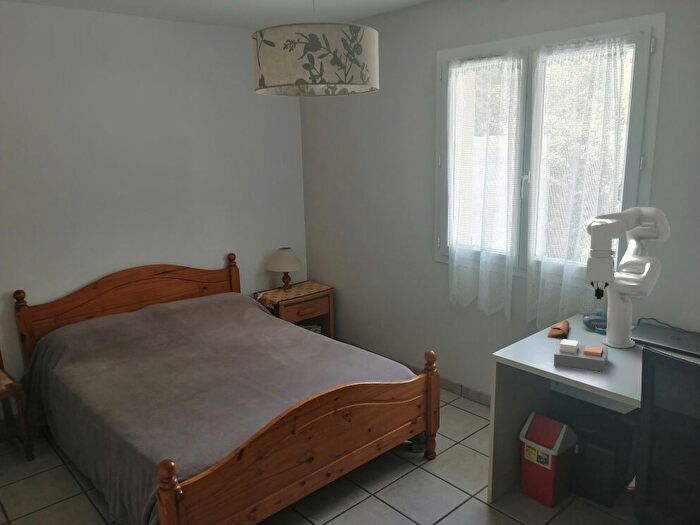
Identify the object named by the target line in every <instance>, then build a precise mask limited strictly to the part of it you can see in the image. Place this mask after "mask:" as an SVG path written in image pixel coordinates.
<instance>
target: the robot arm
mask: <svg viewBox="0 0 700 525" xmlns="http://www.w3.org/2000/svg"><path fill="white" fill-rule="evenodd" d="M586 231H587V234H588V235H589V237H590V249H589V250H590V251H589V254H590V255H588V257H587V261H586V268H585V280H584V283H585V284H586V285H591V287H593V289H594V297H596V300H602V298H603V297H604V294H605V292H604V291H605V289H606V293H607V295H606V296H607V308H606V309H607V310H606V311H607V312H606V319H607V335H606V336H605V337H602V340H601V342H602V343H603V344H604V345H605V346H608V347H611V348H616V349H617V348H619V349H629V348H632V347H634V346H635V344H636V342H635V340H634V339H632V322H633V321H632V320H633V302H632V300H631V299H630V297H635V298H641V299H642V298H647V297H649V296H650V295H651V293H652V291H653V289H654V287H655V285H656V283H657V281H658V279H659V277H660V276H661V272H662V271H661V270H662V264H661V261H660V260H659V259H658V258H657V257H653V256H649V249H648V248H647V246H646V245H645V244H644V242H642V241H649V242H650V241H651V242H665V241H667V240H669V238H670V236H671V227H670V223H669V222H668V220H667V218H666V215H665V213H664V212H663V210H661V209H660V208H659V207H653V206H652V207H649V206H634V207H633V206H632V207H630V208H627V209H625V210H623V211H619V212H614V213H613V212H612V213H608V214H607V213H606V214H601V215H596V216H595V217H593V218H591V219H590V220H589V221H588V223H587V225H586ZM625 235H626V242H627V243H626V244H627V249H626V251H625V252H624V255H623V257H622V258H621V260H620V262H619V264H618V267H617V268H618V271H615V258H614V256H615V255H616V251H614V250H613V249H612V248H613V247H612V246H613V245H612V243H613V239H615V240H616V239H617V240H618V239H622V238H623V237H624V236H625ZM599 283H601V285H600V287H599ZM631 339H632V340H631ZM633 340H634V341H633Z"/></svg>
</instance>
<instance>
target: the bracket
mask: <svg viewBox="0 0 700 525" xmlns="http://www.w3.org/2000/svg"><path fill="white" fill-rule="evenodd" d="M602 314H603V309H602V308H599V307H598V308H596V314H595V317H596V316H602V317H603V315H602ZM595 333H597V334H598V335H603V336H604V335H606V336H607V328H606V329H602V328H597V327H596V326H595Z"/></svg>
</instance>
